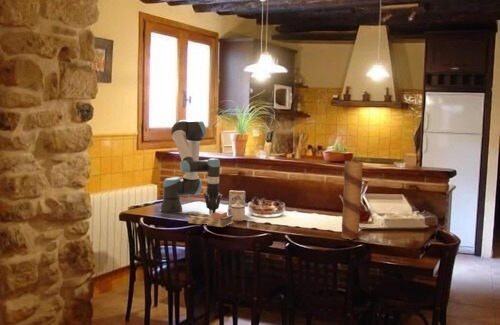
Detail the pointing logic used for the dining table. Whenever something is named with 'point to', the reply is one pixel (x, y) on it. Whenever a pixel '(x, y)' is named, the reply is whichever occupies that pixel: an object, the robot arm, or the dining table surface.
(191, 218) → the chute
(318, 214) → the dining table surface
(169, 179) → the robot arm
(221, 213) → the block
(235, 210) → the teacup with lid
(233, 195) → the candy bar box
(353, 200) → the wafer roll
